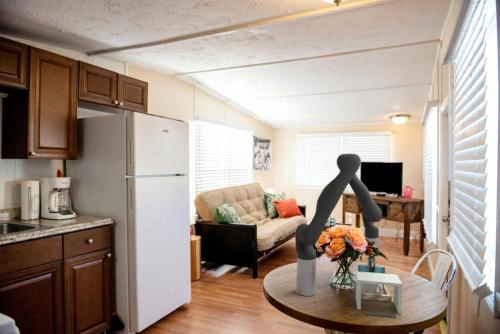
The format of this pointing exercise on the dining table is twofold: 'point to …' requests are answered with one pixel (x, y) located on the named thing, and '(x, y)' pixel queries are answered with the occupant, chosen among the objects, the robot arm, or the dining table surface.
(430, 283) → the dining table surface
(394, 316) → the pit mat
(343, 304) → the dining table surface
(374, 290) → the cup
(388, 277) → the tunnel
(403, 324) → the dining table surface
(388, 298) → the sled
